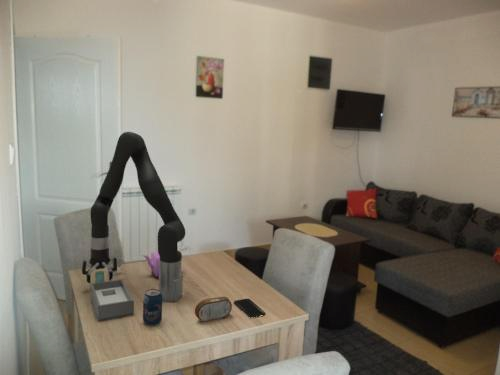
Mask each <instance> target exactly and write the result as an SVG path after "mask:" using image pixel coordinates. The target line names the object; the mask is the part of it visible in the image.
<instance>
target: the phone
mask: <svg viewBox="0 0 500 375" xmlns="http://www.w3.org/2000/svg"><path fill="white" fill-rule="evenodd" d="M233 304H234V305H235V306H236V307H237V308H238V309H239V310H240V311H241V312H242V311H243V312H244V313H245V314H246V315H247V316H248V317H250V318H249V319H252V318H251V317H256V318H257V317H258V316H260V315H265V316H266V311H264V310H263V309H262V308H260V306H258V305H257V304H256V302H254V301H252V300H251V299H250V298H244V299H243V298H242V299H238V300H234V301H233ZM243 312H242V313H243ZM244 313H243V314H244ZM245 314H244V315H245ZM246 315H245V316H246ZM247 316H246V317H247ZM248 317H247V318H248Z"/></svg>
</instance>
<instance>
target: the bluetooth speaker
mask: <svg viewBox="0 0 500 375" xmlns="http://www.w3.org/2000/svg"><path fill="white" fill-rule="evenodd" d="M232 307H233V304H232V302H231V300H230V299H229V298H228V297H227V296H217V297H212V298H206V299H202V300H200V301H199V302H198V303H197V304H196V306H195V308H194V314H195V317H196V318H197V319H198V320H199V321H200V322H210V321H215V320H221V319H224V318H226V317H228V316H229V315H230V314H231V311H232Z"/></svg>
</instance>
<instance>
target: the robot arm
mask: <svg viewBox="0 0 500 375" xmlns="http://www.w3.org/2000/svg"><path fill="white" fill-rule="evenodd" d="M114 150H115V151H114V153H113V157H112V159H111V163H110V166H109V169H108V171H107V174H106V176H105V178H104V180H103V182H102V184H101V187H100V189H99V193H98V195H97V196H96V199H95V200H94V203H93V204H92V206H91V207H90V213H89V214H90V224H91V236H90V238H91V239H90V258H89V260H87V259H82V265H81V266H82V267H81V273H82V275H86V282H87V284H91V278H92V277H91V274H92V273H93V272H94V271H95V270H100V269H101V270H103V269H105V268H106V269H105V270H107V271H108V270H109V276H108V281H112V280H113V279H114V278H113V277H114V276H113V272H114V271H117V272H118V267H117V263H118V261H117V257H116V256H113V257H110V236H109V231H110V226H109V223H108V220H109V212H110V210H111V207H112V205H113V203H114V200H115V199H116V197H117V195H118V193H119V190H120V188H121V187H122V184H123V182H124V181H123V180H124V175H125V170H126V168H127V167H126V166H127V163H128V162H129V160H130V159H131V160H132V162H133V164H134V167H135V170H136V175H137V183H138V186H139V188H140V191H141V193H142V195H143V198H144V199H145V201H146V202H147V203H148V204H149V206H151V208H153V209H154V210H155V211H156V213H158V214H159V216H160V218H161V219H162V221H163V225H161V226H160V227H159V229H158V232H157V251H158V254H159V256H160V264H159V278H158V290H160V291H161V294H162V302H169V303H170V302H175V303H176V302H177V301H178V300H179V299H181V298H182V297H183V284H184V283H183V282H184V281H183V280H184V279H183V278H184V277H183V275H182V260H183V255H182V252H181V251H179V249H178V243H179V242H181V241H182V240H184V239H185V237H186V229H185V226H184V224H183V222H182V220H181V218H180V217H179V215H178V213H177V211H176V209H175V208H174V206H173V204H172V201H171V199H170V198H169V196H168V193H167V190H166V188H165V186H164V184H163V182H162V180H161V177H160V176H159V174H158V172H157V169H156V167H155V166H154V164H153V161H152V159H151V157H150V155H149V150H148V147H147V145H146V142H145V140H144V138H143V137H142V136H141V135H140V134H138V133H135V132H133V131H124V132H123V133H122V134H120V136H119V137H118V139H117V143H116V146H115V149H114ZM110 262H111V263H112V264H113V268H111V267H110V265H109V263H110ZM89 264H90V266H89V268H88V270H87V266H88V265H89Z"/></svg>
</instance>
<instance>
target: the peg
mask: <svg viewBox="0 0 500 375" xmlns="http://www.w3.org/2000/svg"><path fill="white" fill-rule="evenodd" d="M94 277H95V279H94V281H95V282H94V283H99V282H105V271H104V270H102V271H101V270H100V271H95V276H94Z"/></svg>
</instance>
